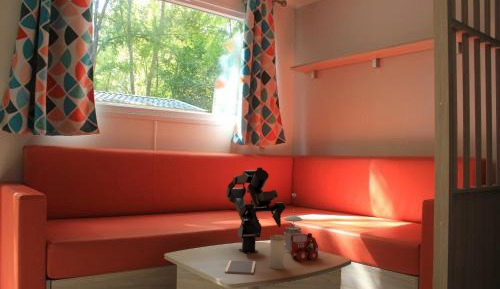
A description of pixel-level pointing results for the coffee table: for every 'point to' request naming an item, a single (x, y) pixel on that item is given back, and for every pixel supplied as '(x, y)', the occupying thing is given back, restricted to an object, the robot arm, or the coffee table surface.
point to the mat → (240, 267)
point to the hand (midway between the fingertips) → (270, 227)
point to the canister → (277, 251)
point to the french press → (291, 230)
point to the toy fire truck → (304, 247)
